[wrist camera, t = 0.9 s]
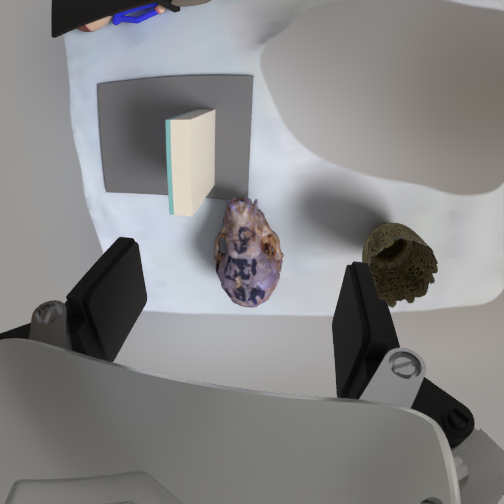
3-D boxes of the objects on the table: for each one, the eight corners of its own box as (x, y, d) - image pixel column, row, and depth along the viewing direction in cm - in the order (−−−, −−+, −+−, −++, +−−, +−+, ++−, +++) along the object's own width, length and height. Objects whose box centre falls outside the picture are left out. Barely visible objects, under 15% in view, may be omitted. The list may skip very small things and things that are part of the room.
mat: (99, 84, 28) (97, 84, 28) (253, 76, 27) (252, 76, 27) (107, 191, 35) (106, 192, 35) (247, 199, 34) (247, 200, 33)
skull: (213, 188, 32) (207, 219, 28) (287, 191, 33) (295, 221, 28) (215, 277, 40) (212, 314, 35) (277, 279, 40) (281, 315, 35)
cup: (413, 200, 31) (440, 235, 24) (414, 257, 34) (435, 299, 28) (348, 211, 33) (361, 248, 26) (355, 268, 36) (366, 313, 29)
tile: (195, 109, 29) (165, 119, 22) (215, 109, 29) (190, 119, 22) (196, 183, 33) (169, 214, 26) (214, 184, 33) (192, 216, 26)
